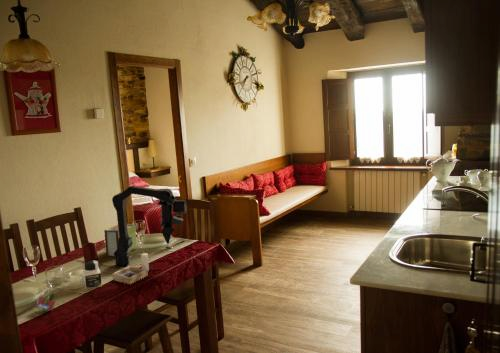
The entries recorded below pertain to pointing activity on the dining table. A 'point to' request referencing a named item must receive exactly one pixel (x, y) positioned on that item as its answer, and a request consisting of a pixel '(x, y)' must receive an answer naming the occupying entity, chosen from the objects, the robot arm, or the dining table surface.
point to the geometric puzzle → (45, 303)
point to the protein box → (117, 238)
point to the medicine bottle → (92, 275)
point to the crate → (131, 270)
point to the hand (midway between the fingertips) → (167, 240)
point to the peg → (144, 261)
